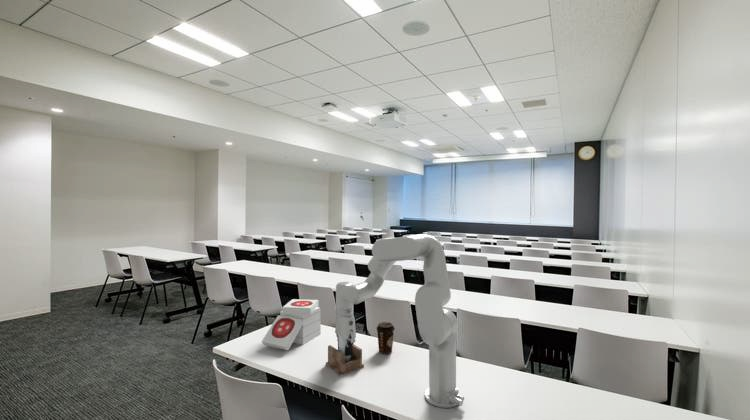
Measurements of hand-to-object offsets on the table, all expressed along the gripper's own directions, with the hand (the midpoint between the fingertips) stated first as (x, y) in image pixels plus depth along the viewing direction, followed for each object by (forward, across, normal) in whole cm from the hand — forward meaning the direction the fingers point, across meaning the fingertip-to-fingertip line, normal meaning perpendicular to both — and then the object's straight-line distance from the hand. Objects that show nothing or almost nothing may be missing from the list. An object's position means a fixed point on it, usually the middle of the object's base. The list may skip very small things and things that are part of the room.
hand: (344, 352), depth 142 cm
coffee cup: (+6, 0, -23) cm, 24 cm away
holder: (+6, 0, 0) cm, 6 cm away
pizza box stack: (+6, +39, +6) cm, 40 cm away
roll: (+3, 0, 0) cm, 3 cm away
